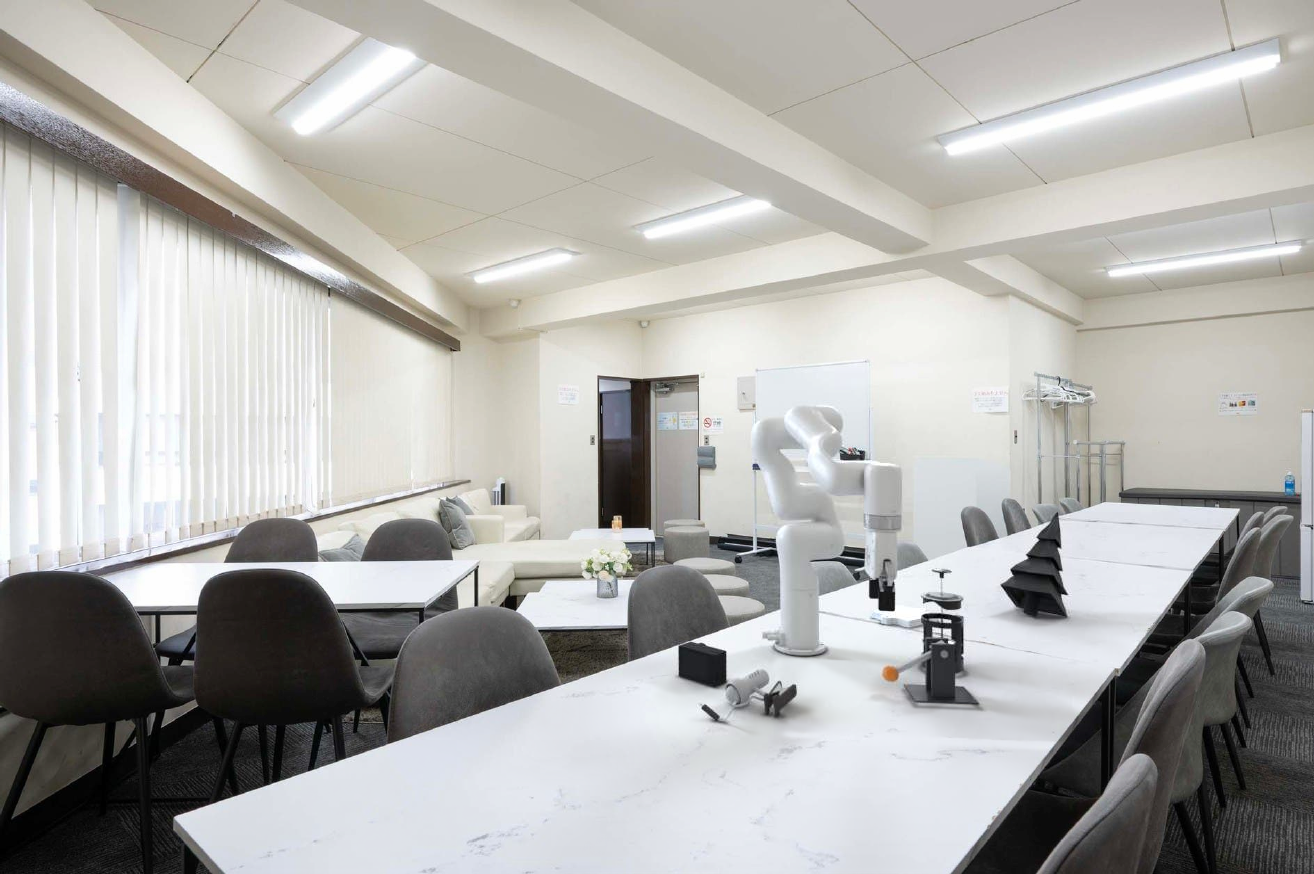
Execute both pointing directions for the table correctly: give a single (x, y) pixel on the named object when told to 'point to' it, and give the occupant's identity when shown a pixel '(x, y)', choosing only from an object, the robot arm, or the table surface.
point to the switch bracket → (940, 676)
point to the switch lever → (904, 666)
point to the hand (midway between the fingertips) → (881, 604)
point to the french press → (957, 621)
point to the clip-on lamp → (752, 683)
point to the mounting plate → (901, 616)
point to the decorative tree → (1039, 576)
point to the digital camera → (702, 663)
